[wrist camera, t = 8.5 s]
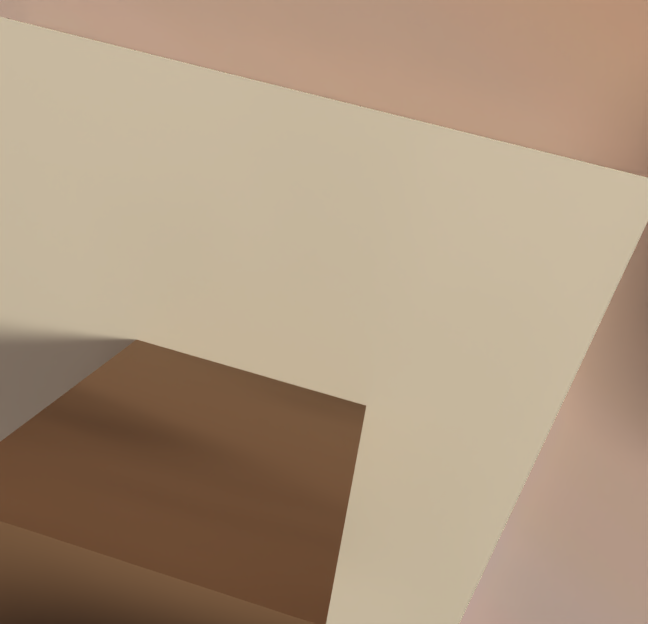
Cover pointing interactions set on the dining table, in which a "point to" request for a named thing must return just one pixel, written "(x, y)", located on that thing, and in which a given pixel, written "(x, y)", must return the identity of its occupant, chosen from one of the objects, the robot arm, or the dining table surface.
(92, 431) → the walnut block
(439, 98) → the dining table surface
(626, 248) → the plate
